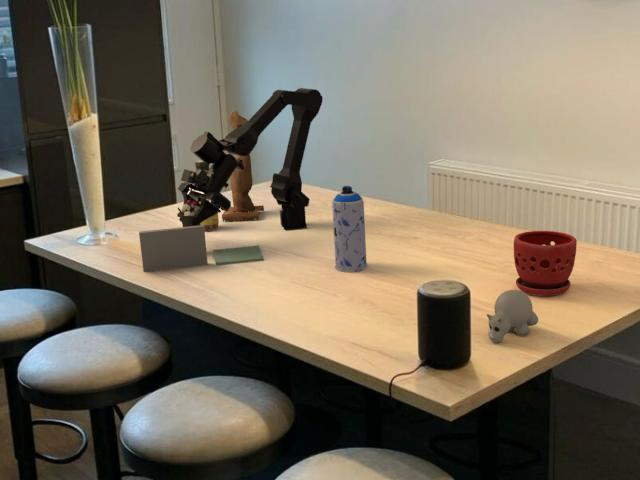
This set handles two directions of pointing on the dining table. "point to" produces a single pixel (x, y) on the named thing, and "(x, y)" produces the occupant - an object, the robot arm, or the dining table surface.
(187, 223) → the sundae
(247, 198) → the bird sculpture
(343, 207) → the aerosol can
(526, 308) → the chubby cartoon animal
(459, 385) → the dining table surface
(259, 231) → the dining table surface
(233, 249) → the rubber mat
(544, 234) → the plant pot
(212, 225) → the sauce bottle
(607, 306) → the dining table surface
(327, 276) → the dining table surface
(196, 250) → the partition board
